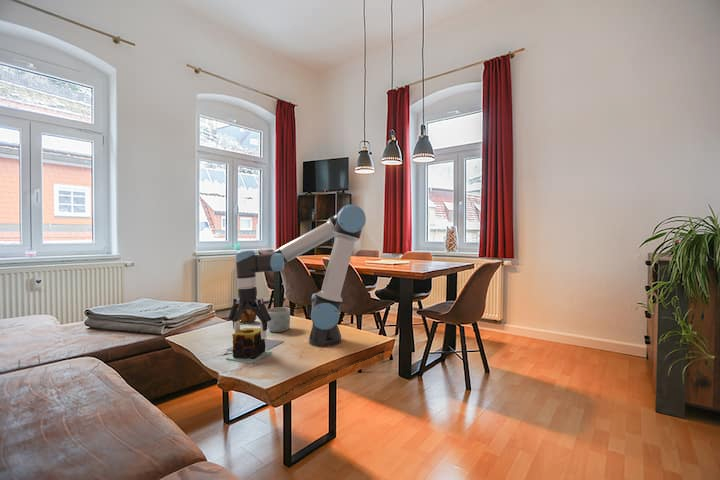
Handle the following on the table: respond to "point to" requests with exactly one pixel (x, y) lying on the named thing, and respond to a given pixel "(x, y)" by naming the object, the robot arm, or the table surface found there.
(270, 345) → the gray mat
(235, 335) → the candle
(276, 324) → the planter
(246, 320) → the stuffed squirrel
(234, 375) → the table surface
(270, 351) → the pad
